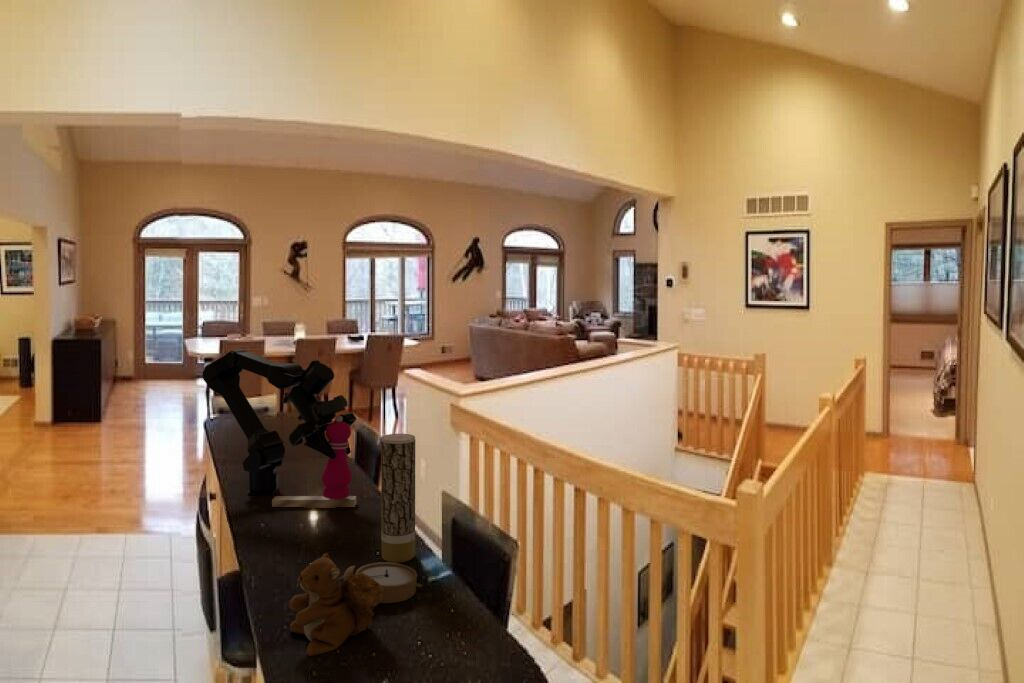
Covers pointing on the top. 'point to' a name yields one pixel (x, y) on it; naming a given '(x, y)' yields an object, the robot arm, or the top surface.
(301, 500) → the flat beige strip
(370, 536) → the top surface
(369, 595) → the stuffed squirrel
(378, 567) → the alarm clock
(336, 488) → the pepper mill
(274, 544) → the top surface
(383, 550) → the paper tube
